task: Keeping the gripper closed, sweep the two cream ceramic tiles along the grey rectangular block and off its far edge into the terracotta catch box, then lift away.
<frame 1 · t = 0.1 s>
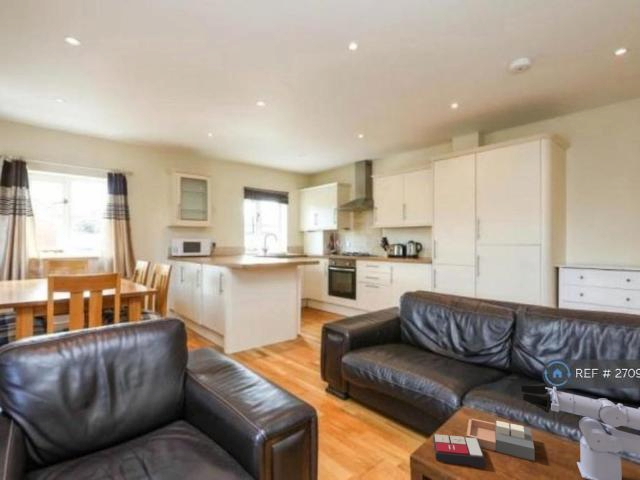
hand: (522, 392, 112), 22 cm above the table, tool horizontal, fingers open, 7 cm apart
calculator: (457, 456, 113), on the table
tile b: (502, 431, 119), point 4 cm above the table, touching grey rectangular block
catch box: (481, 437, 123), on the table
grey rectangular block: (513, 445, 118), on the table
tile a: (517, 434, 117), point 4 cm above the table, touching grey rectangular block
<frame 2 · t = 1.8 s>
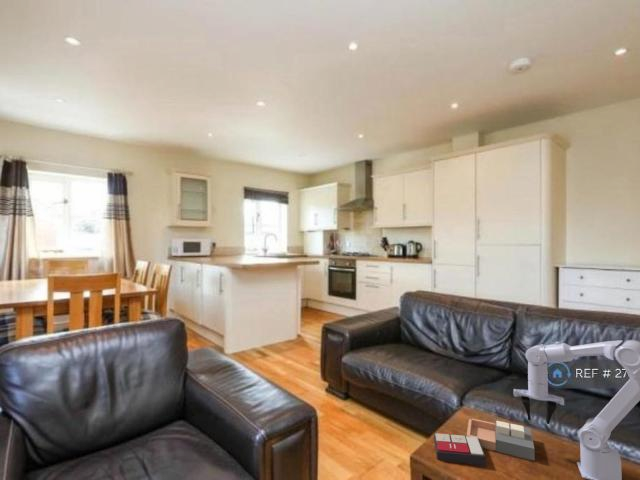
hand: (538, 420, 115), 10 cm above the table, tool pointing down, fingers open, 5 cm apart
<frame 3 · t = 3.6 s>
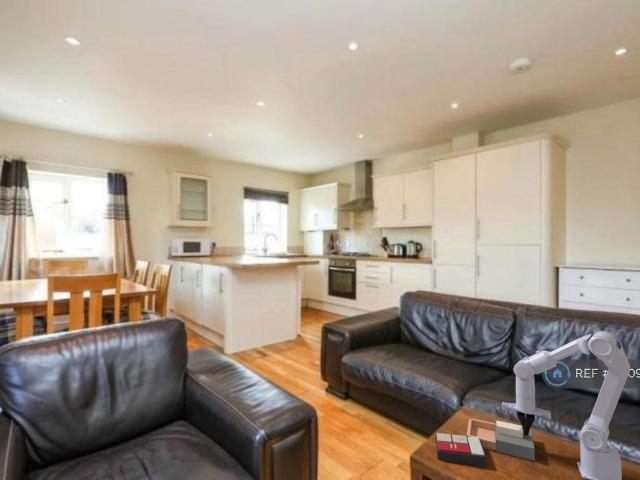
hand: (525, 434, 116), 5 cm above the table, tool pointing down, fingers closed
tile b: (502, 431, 119), point 4 cm above the table, touching grey rectangular block, tile a
tile a: (515, 434, 118), point 4 cm above the table, touching gripper, tile b
everything else where it was.
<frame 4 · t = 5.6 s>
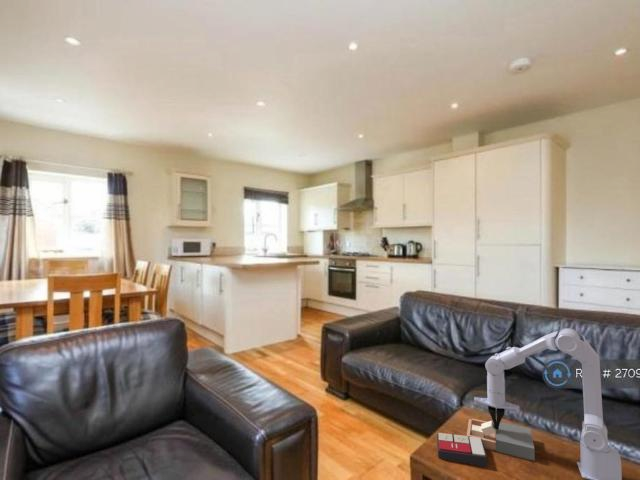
hand: (496, 427, 120), 5 cm above the table, tool pointing down, fingers closed
tile b: (477, 428, 123), point 3 cm above the table, tilted 180°, touching catch box, tile a
tile a: (490, 431, 121), point 3 cm above the table, tilted 31°, touching gripper, tile b
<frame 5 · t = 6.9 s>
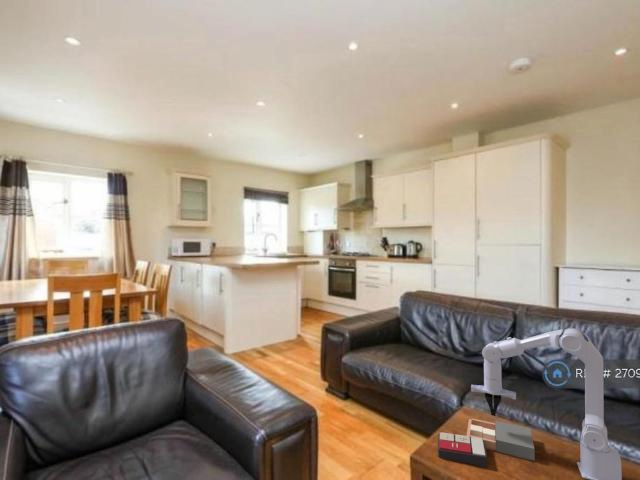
hand: (493, 414, 121), 9 cm above the table, tool pointing down, fingers closed
tile b: (476, 428, 123), point 3 cm above the table, tilted 180°, touching catch box
tile a: (489, 438, 121), point 1 cm above the table, touching catch box
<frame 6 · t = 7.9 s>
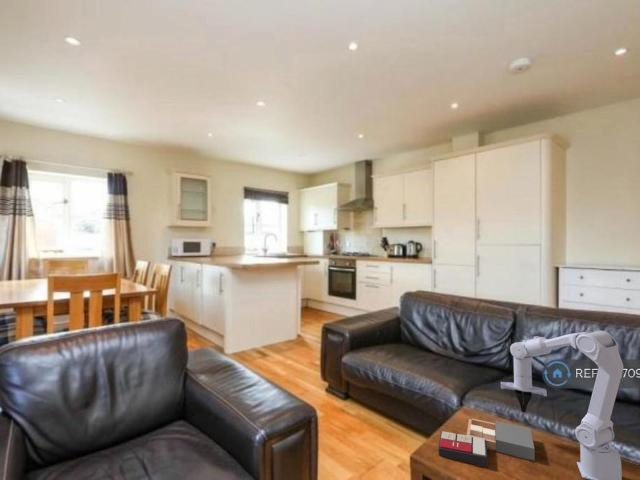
hand: (523, 411, 123), 9 cm above the table, tool pointing down, fingers closed
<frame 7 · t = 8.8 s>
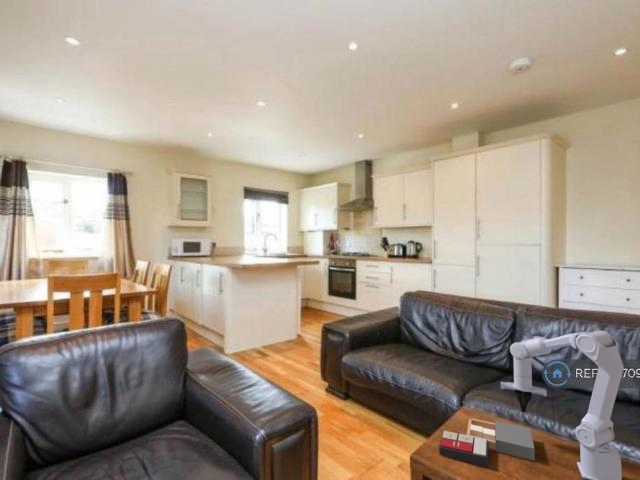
hand: (523, 411, 123), 9 cm above the table, tool pointing down, fingers closed
at the end: tile a inside the target area on the catch box (2.6 cm from its centre), point 0.6 cm above the catch box's base; tile b inside the target area on the catch box (1.6 cm from its centre), point 3.1 cm above the catch box's base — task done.
